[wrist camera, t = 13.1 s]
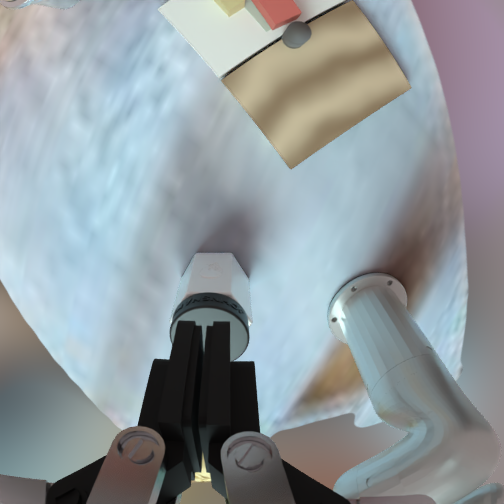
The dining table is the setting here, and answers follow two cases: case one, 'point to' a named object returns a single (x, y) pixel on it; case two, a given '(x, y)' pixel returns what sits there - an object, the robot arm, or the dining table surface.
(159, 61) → the dining table surface
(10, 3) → the cup with straw
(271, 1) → the swing bar
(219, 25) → the door
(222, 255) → the jar
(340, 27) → the tan wavy block
